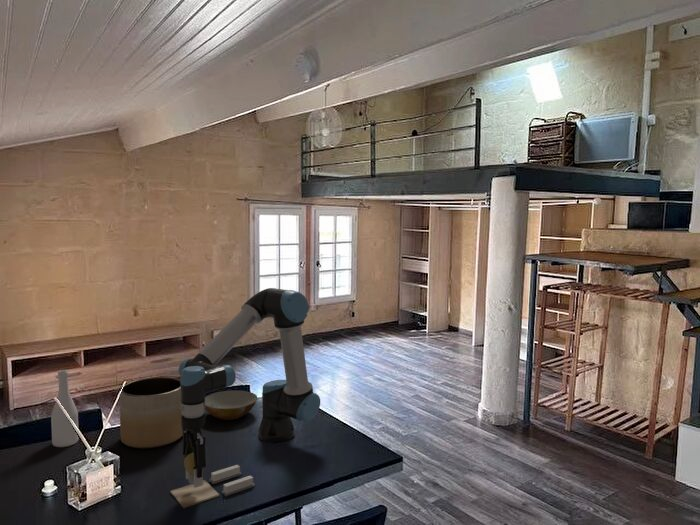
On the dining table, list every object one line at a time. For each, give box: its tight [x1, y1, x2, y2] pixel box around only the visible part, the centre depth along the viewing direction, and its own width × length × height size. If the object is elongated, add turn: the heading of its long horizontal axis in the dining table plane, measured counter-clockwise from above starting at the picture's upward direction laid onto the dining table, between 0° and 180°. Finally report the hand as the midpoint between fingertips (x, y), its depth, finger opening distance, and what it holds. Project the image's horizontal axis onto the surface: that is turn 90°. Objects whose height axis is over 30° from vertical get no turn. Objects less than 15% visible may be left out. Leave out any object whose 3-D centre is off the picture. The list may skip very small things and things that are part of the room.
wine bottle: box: [50, 369, 80, 448], centre depth 212 cm, size 10×10×30 cm
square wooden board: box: [169, 479, 220, 509], centre depth 175 cm, size 12×12×1 cm
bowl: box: [205, 389, 258, 421], centre depth 244 cm, size 25×25×8 cm
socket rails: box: [209, 464, 256, 497], centre depth 182 cm, size 13×11×3 cm
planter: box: [119, 376, 183, 450], centre depth 218 cm, size 25×25×22 cm
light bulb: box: [183, 453, 195, 485], centre depth 174 cm, size 6×6×10 cm
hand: (194, 481), depth 174 cm, fingers closed on light bulb, 6 cm apart
